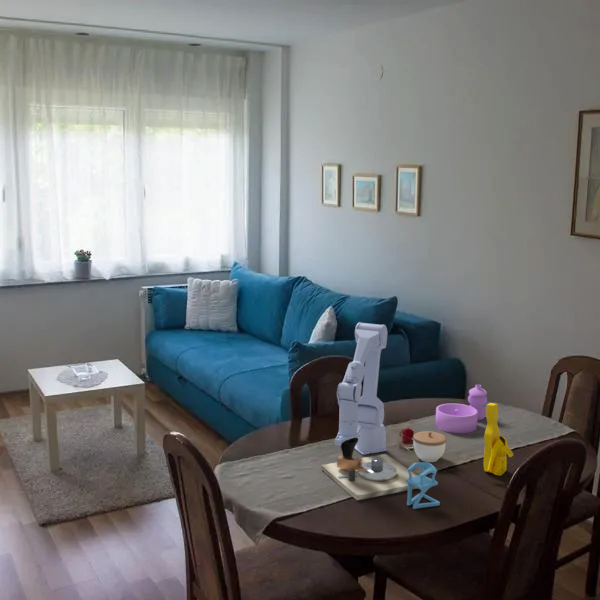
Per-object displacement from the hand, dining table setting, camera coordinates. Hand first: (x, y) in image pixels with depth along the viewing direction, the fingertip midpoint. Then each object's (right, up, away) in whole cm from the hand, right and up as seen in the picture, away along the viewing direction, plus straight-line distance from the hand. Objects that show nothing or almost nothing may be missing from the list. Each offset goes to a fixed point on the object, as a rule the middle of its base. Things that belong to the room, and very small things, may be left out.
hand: (347, 460), depth 237 cm
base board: (+8, -5, -4) cm, 10 cm away
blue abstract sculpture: (+20, -8, -21) cm, 30 cm away
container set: (+47, +4, +46) cm, 66 cm away
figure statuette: (+47, -4, +2) cm, 48 cm away
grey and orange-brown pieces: (+6, -3, -4) cm, 8 cm away
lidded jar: (+28, -2, +12) cm, 30 cm away
